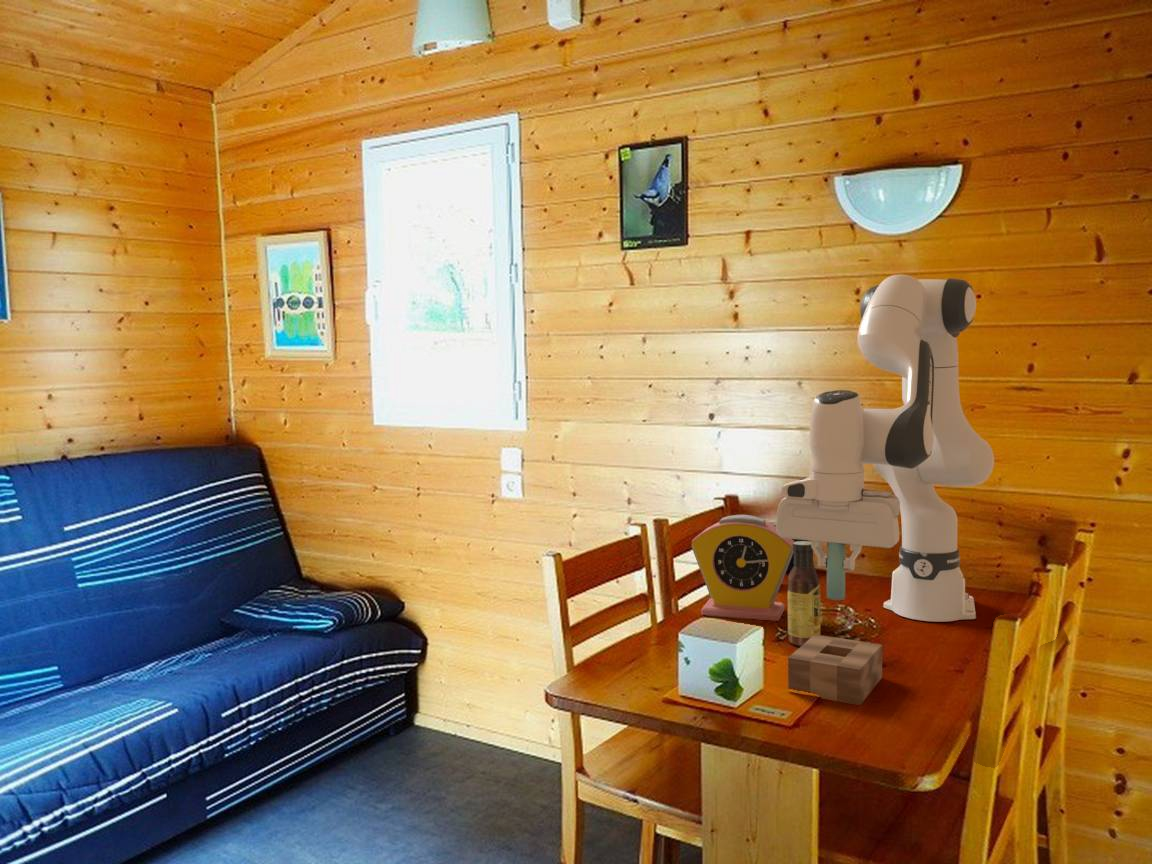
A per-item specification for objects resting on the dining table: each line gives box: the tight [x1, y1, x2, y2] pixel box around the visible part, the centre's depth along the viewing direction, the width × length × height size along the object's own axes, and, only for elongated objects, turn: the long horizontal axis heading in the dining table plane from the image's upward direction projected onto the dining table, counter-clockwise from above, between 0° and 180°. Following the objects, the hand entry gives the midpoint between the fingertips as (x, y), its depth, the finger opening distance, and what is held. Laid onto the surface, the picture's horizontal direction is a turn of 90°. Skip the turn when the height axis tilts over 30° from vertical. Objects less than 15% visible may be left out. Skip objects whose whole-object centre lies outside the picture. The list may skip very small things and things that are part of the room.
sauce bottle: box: [787, 540, 821, 647], centre depth 180 cm, size 6×6×20 cm
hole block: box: [787, 634, 883, 706], centre depth 159 cm, size 14×12×6 cm
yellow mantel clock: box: [690, 514, 794, 622], centre depth 201 cm, size 22×9×22 cm, turn 69°
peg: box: [826, 542, 846, 601], centre depth 157 cm, size 3×3×10 cm
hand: (836, 568), depth 157 cm, fingers closed on peg, 3 cm apart
